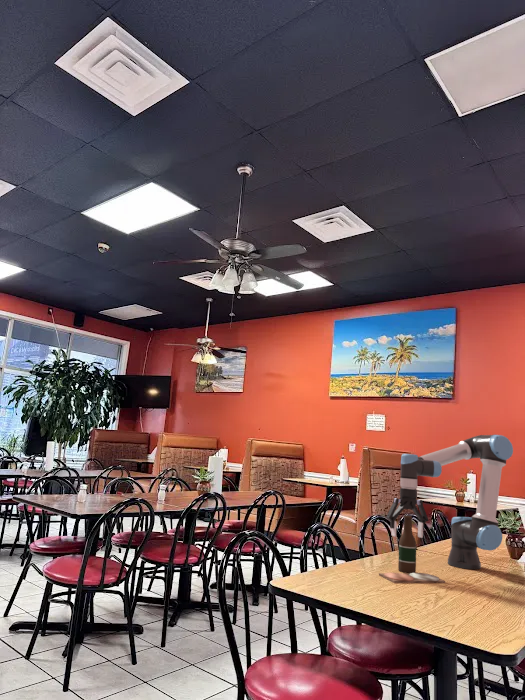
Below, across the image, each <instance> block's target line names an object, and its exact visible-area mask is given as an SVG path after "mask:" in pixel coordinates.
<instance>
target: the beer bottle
mask: <svg viewBox="0 0 525 700" xmlns="http://www.w3.org/2000/svg"><path fill="white" fill-rule="evenodd" d="M403 518H404V522H403V532H402V535H401V536H400V537H399V541H398V562H397V563H398V567H397V568H398V572H399V573H402V574H410V573H417V572H416V570H417V541H416V539H415V536H414V534H413V520H412V519H413V515H407V514H405V515H404V517H403Z"/></svg>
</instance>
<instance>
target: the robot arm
mask: <svg viewBox="0 0 525 700" xmlns="http://www.w3.org/2000/svg"><path fill="white" fill-rule="evenodd" d="M513 453H514V447H513V443H512V442H511V441H510V439H509V438H508V437H506V436H505V435H502V434H481V435H475V436H472V437H469V438H466V439H464V440H461V441H459V442H458V444H455V445H452V446H449V447H446V448H445V447H444V448H442V449H439V450H436V451H433V452H430V453H426V454H422V455H421V456H418V454H414V453H413V454H411V453H402V454H401V458H400V479H399V481H400V484H399V485H400V489H399V498H397V497H394V498H393V501H392V504H391V506H390V508H389V510H388V513H387V514H386V517H385V518H386V519H388V520H389V521H390V523H389V524H390V525H389V526H390V527H389V528H390V529H391V536H392V537H394V538H395V537H397V521H396V520H397V519H398V517H399V516H400V515H401V513H402V512H403V511H405V510H411V511H413V514H415V516H416V517H417V520H418V522H417V537H418V538H421V539H422V538H423V535H424V530H425V523H427V522H429V518H428V515H427V512H426V510H425V507H424V502H423V500H422V499H417V497H418V490H417V488H418V477H419V476H420V477H428V478H429V477H430V478H439V477H440V476H441V475H442V472H443V471H442V470H443V469H442V466H446V465H449V464H451V463H455V462H458V461H462V460H465V461H466V460H470V459H479V460H480V462H481V464H482V467H481V468H482V469H481V474H480V475H481V476H480V483H479V488H478V489H479V491H478V497H477V503H476V511H475V514H473V515H472V516H471V517H469V516H453V517H452V518H451V523H450V525H451V527H450V528H451V530H450V531H451V548H450V551H449V554H448V558H447V564H448V565H449V566H452V567H455V568H459V569H460V568H461V569H466V570H467V569H468V570H481V569H482V566H481V565H482V564H481V560H480V556H479V554H478V549H481V550H484V551H495V550H496V549H497V548H499V547H500V545H501V544H502V542H503V533H502V530H501V528H499V521H498V520H497V518H496V517H497V508H498V502H499V501H498V500H499V493H500V485H501V478H502V469H503V468H504V467H505V466H507V460H509V459H511V457H513Z"/></svg>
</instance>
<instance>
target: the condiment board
mask: <svg viewBox="0 0 525 700" xmlns="http://www.w3.org/2000/svg"><path fill="white" fill-rule="evenodd" d="M378 576H380V577H381V578H383V579H385V580H387V581H389V582H391V583H393V584H446V580H443V579H441V578H440V577H438V576H437V575H434V574H431V573H424V572H415V573H410V574H408V573H403V572H385V573H380V572H379V573H378Z"/></svg>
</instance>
